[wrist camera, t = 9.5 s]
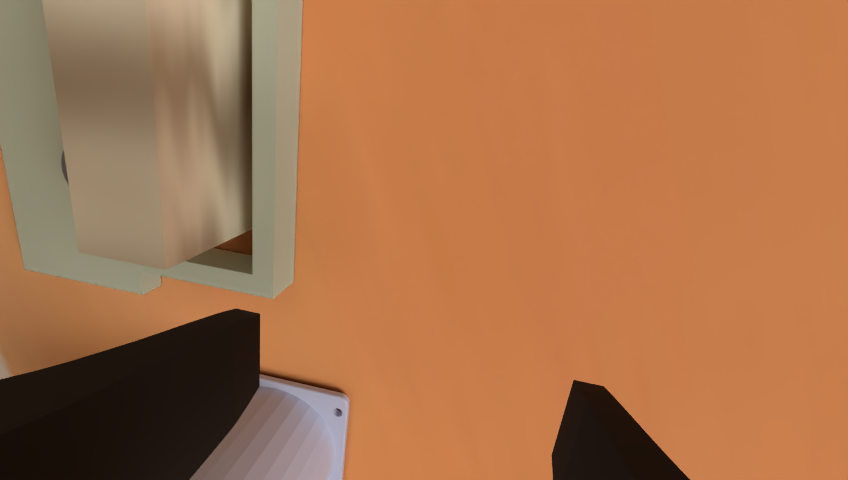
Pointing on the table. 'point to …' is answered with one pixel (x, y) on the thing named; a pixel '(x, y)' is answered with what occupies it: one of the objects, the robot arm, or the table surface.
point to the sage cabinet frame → (48, 182)
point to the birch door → (154, 123)
